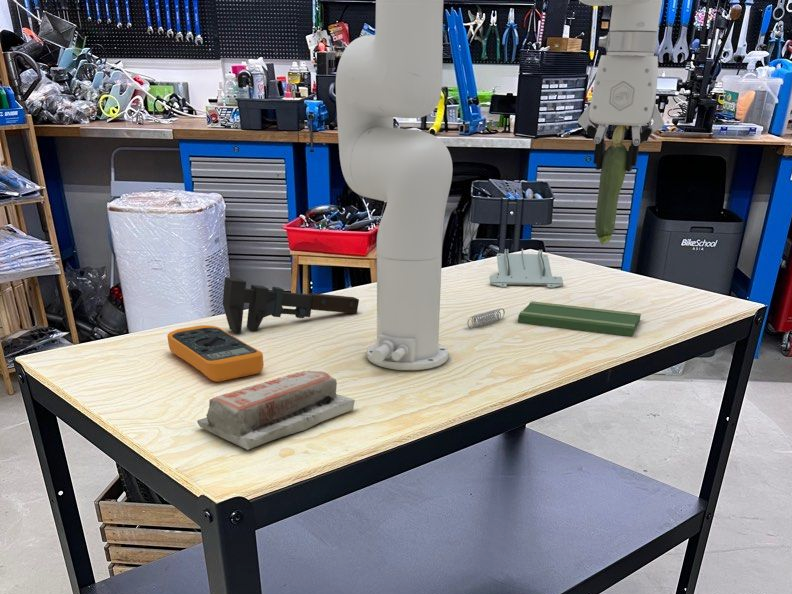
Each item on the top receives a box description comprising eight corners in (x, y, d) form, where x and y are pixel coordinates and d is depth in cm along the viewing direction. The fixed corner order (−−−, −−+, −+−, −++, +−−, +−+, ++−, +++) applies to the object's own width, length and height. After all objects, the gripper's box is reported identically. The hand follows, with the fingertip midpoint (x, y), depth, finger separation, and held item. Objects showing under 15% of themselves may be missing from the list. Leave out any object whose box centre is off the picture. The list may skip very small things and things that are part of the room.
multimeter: (215, 342, 129) (213, 321, 127) (267, 374, 116) (265, 351, 114) (165, 351, 124) (161, 330, 122) (212, 385, 112) (210, 362, 110)
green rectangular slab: (632, 336, 135) (633, 327, 134) (517, 322, 141) (518, 314, 140) (639, 321, 143) (641, 312, 142) (531, 308, 149) (531, 300, 148)
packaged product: (244, 414, 91) (192, 392, 96) (248, 453, 93) (197, 429, 99) (355, 375, 102) (303, 358, 108) (356, 411, 105) (305, 391, 110)
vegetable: (586, 241, 144) (602, 117, 134) (605, 240, 146) (623, 117, 136) (601, 246, 141) (618, 119, 131) (621, 244, 143) (639, 119, 132)
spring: (471, 330, 137) (472, 318, 136) (462, 327, 138) (463, 316, 137) (508, 319, 142) (509, 308, 141) (499, 317, 144) (500, 306, 143)
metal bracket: (487, 243, 171) (557, 244, 170) (485, 268, 175) (553, 269, 175) (491, 278, 161) (565, 279, 161) (489, 303, 165) (560, 305, 165)
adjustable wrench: (353, 339, 146) (226, 332, 131) (346, 336, 148) (220, 328, 133) (361, 293, 142) (231, 280, 128) (353, 290, 144) (225, 277, 130)
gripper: (574, 44, 127) (561, 169, 137) (683, 46, 122) (661, 175, 132) (583, 45, 133) (569, 164, 143) (687, 46, 128) (666, 170, 138)
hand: (614, 168), depth 137 cm, fingers closed on vegetable, 4 cm apart
